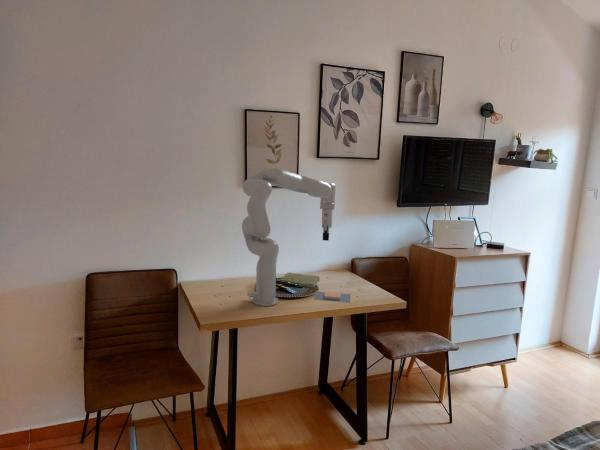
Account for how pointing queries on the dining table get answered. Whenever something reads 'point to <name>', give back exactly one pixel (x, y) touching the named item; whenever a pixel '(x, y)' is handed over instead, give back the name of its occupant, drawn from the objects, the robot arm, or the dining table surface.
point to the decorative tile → (301, 279)
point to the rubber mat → (342, 299)
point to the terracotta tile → (332, 295)
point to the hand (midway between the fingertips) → (325, 240)
